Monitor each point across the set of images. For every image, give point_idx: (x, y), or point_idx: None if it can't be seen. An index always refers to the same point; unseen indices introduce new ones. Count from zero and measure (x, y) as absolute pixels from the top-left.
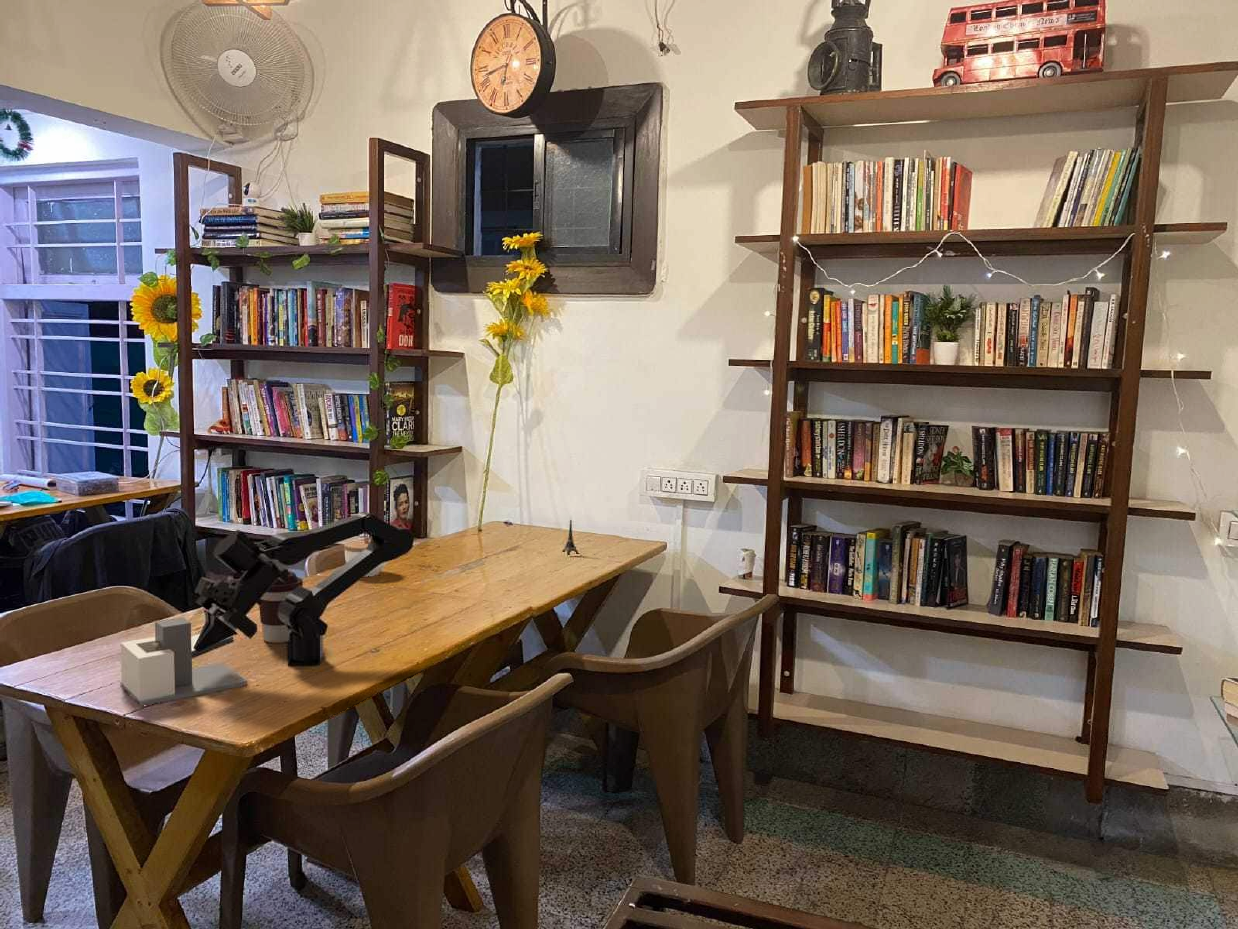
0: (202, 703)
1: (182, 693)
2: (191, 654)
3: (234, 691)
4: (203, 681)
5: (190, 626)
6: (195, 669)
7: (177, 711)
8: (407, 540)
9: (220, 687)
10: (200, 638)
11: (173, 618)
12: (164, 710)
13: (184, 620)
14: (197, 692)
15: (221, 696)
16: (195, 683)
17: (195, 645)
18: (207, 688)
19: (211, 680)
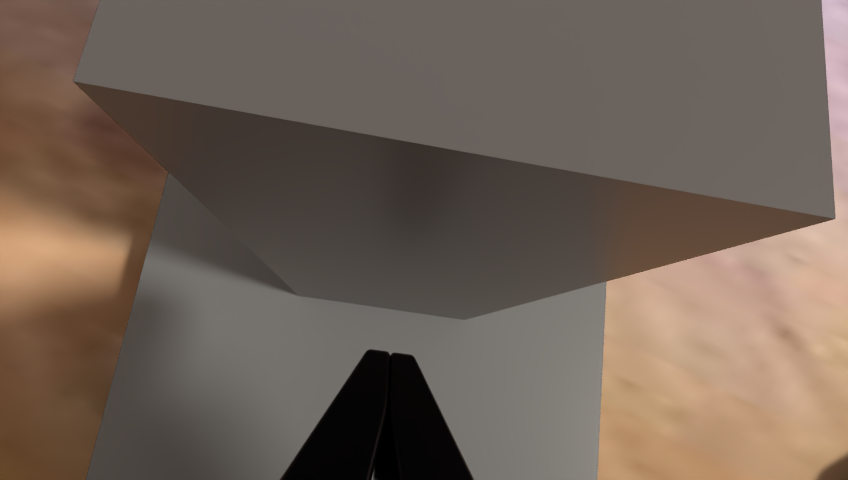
0: (3, 217)
1: None
2: (265, 261)
3: (27, 470)
4: (292, 370)
5: (127, 120)
6: (559, 444)
7: (8, 68)
8: None
9: (107, 407)
10: (390, 447)
11: (812, 8)
12: (86, 35)
13: (463, 88)
14: (148, 257)
15: (14, 358)
16: (294, 315)
17: (394, 370)
18: (143, 326)
19: (271, 420)
